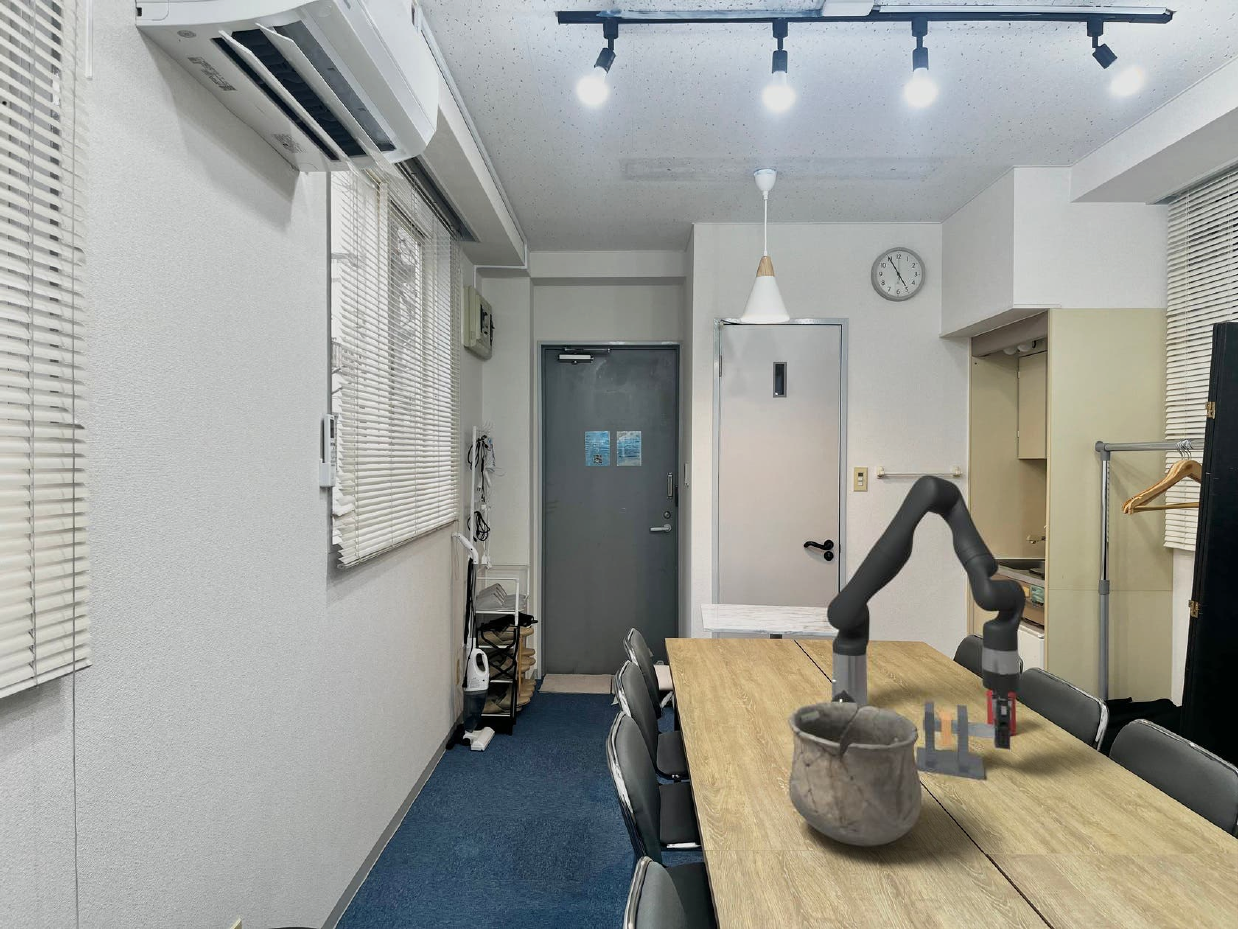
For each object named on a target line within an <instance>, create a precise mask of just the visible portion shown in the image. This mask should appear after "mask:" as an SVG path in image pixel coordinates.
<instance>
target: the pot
mask: <svg viewBox="0 0 1238 929" xmlns="http://www.w3.org/2000/svg"><path fill="white" fill-rule="evenodd" d="M787 723H788V725H789V727H790V729H791V731H792V740H793V745H794V747H793V753H792V762H791V772H790V776H789V779H788V793H789V799H790V801H791V803H792V806H793V807H794V808H795V810H796V811H797V813H798V814H799V815H800V816H801V817H802V818H803V819H804V820H805V821H806V822H807V823H809V824H810V825H811V826H812V827H813V828H814V829H815V830H816V831H818V832H820V833H821V834H823V835H825V836H827V837H829V838H830V839H832V840H834V841H837V842H839V843H842V844H846V845H847V844H848V845H850V846H851V845H853V846H859V847H860V846H861V847H878V846H882V845H885V844H889V843H891V842H894V841H897V840H898V839H900V838H901V837H903V836H904V835H905V834H907V833H909V831H910V830H911V829H913V828H914V826H915V825H916V823H917V821H918V819H919V816H920V812H921V808H922V801H923V800H922V797H923V794H922V784H921V778H920V775H919V770H917V767H916V758H915V750H914V748H915V744H916V742H917V741H918V738H919V733H918V727H917V726H916V725H915V724H914V723H913V722H912V721H911V720H909V719H908V718H907V717H906V716H904V715H902V714H900V713H898V712H896V711H893V710H891V709H885V708H878V707H876V706H874V705H873V706H872V705H867V706H865V707H863V708H860V709H859V706H858V703H849V702H831V701H822V702H816V703H815V704H808V705H801V706H799V707H798V708H796V709H795V710H794V711H793V712H792V713H791V714H790V715H789V716H788V719H787Z"/></svg>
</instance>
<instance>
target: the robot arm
mask: <svg viewBox="0 0 1238 929" xmlns="http://www.w3.org/2000/svg"><path fill="white" fill-rule="evenodd" d="M927 513H932V514H936V515H938V516H940V518H942V519H943V520H944V522H945V523H947V526H948V527H949V529H950V531H951V534H952V545H953V546H952V547H953V551H954V553H955V554H956V557H957V559H958V561H959V562H960V565H962V567H963V569H964V570H965V572H966V573H967V574H966V575H967V578H968V582H969V585H970V589H971V594H972V598H973V600H974V602H975V604H976V606H978V607H979V608H981V609H982V610H983V611H985V612H997V615H996V617H995V618H993V619H990V620H988V621H985V622H984V623H983V625H982V653H981V654H982V655H981V668H982V669H981V670H982V671H981V672H982V674H981V679H982V686H983V687H984V688H985V689H987V690H988V689H989V690H992V692H993V694H991V702H992V711H993V713H994V718H995V719H996V722H997V726H996V728H997V744H998V746H999V747H1003V748H1008V747H1009V731H1010V730H1011V727H1010V720H1011V707H1012V699H1011V696H1008V693H1010V692H1012V693H1017V692H1019V691H1020V690H1021V681H1020V680H1021V678H1020V677H1021V676H1020V672H1021V670H1020V655H1019V654H1020V653H1019V639H1018V638H1019V637H1018V634H1019V633H1018V632H1019V627H1020V625H1021V621H1022V618H1023V615H1024V611H1025V606H1026V601H1027V600H1026V592H1025V590H1024V588H1023V586H1022V584H1020V582H1018V580H1014V579H1012V578H1011V579H991V578H992V577H993V576H994V575H996V574H997V572H998V571H999V564H998V561H997V559H996V558H995V556H994V555H993V553H992V552H991V550H990V548H989V547H988V546H987V544H986V542H985V541H984V539H983V538H982V536H981V534H980V533H979V531H978V529H977V527H976V524H975V523H974V520H973V518H972V516H971V513H970V511H969V508H968V506H967V504H966V501H965V499H964V497H963V494H962V493H961V490H960V488H959V487H958V486H957V485H956V484H955V483H954V482H952V481H950V480H947V479H944V478H941V477H938V476H935V475H929V474H926V475H923V476H921V477H920V478H918V479H917V480H916V481H915V482H914V484H913V485H912V486H911V488H910V490H909V491H908V493H907V494H906V496H905V498H904V500H903V501H902V504H901V505H900V507H899V509H898V511H896V513H895V515H894V517H893V518H892V520H891V521H890V523H889V525H888V526H887V527H886V529H885V530H884V531H883V533H882V534H881V536H880V537H879V538H878V539H877V541H876V542H875V544H874V545H873V546H872V547H871V549H870V551H869V552H868V553H867V555H866V556H865V558H863V561H862V562H861V564H860V565H859V566H858V568H857V570H856V571H855V572H854V574H853V575H852V577H851V579H850V580H849V581H848V582H847V584H846V585H845V586H844V587H843V588H842V589H841V590H840V591H839V593H837V595H836V596H834V598H833V599H832V600H830V603H829V604H828V606H827V610H826V617H827V621H828V623H829V624H830V625H831V627H832V628H834V629H836V630H838V631H837V635H836V637H835V638H834V640H833V641H832V679H831V699H832V698H833V697H834V696H835V695H836V694H838V693H842V691H843V690H845V691H846V693H847V694H849V695H851V696H852V697H853V698H854V700H855V701H856V703H858V706H859V709H860V708H863V707H865V706H868V672H867V671H868V670H867V669H868V665H867V663H868V662H867V660H868V659H867V654H868V653H867V649H868V644H869V641H870V623H871V622H870V618H871V617H870V616H871V615H870V609H869V605H868V603H869V602H870V600H871V599H872V598H873V596H875V595H876V594H878V592H879V591H881V590H882V589H883V588H885V587H886V586H887V585H888V584H889V583H890V582H891V581H892V580H893V579H895V578H896V576H898V574H899V573H900V571H901V570H902V569H903V568H904V566H905V565H906V564H907V563H908V561H909V560H910V559H911V556H912V552H913V548H914V535H915V531H916V530H917V529H916V528H917V527H918V525H919V524H920V522H921V521H922V519H923V518H924V516H925V515H927ZM1001 721H1004V722H1006V725H1001V724H1000V722H1001Z"/></svg>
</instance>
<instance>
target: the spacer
mask: <svg viewBox="0 0 1238 929" xmlns="http://www.w3.org/2000/svg"><path fill="white" fill-rule="evenodd" d="M940 716H941V730H942V732H940V734H941V746H945V747H952V733H951V720H952V717H951V711H943V710H941V711H940Z"/></svg>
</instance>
